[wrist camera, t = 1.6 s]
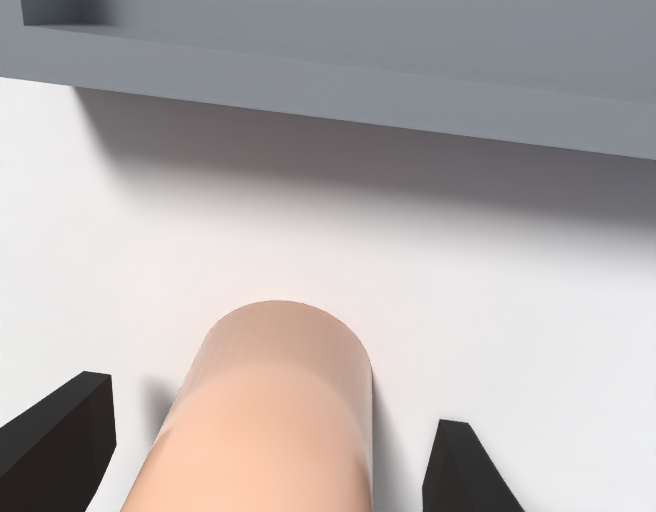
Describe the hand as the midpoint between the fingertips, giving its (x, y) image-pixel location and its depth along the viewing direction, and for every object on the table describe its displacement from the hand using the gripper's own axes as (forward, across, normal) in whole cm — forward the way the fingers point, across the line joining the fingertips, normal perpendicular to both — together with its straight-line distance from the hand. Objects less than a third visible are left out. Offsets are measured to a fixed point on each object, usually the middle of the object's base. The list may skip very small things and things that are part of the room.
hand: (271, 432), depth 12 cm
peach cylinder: (+2, 0, 0) cm, 2 cm away
